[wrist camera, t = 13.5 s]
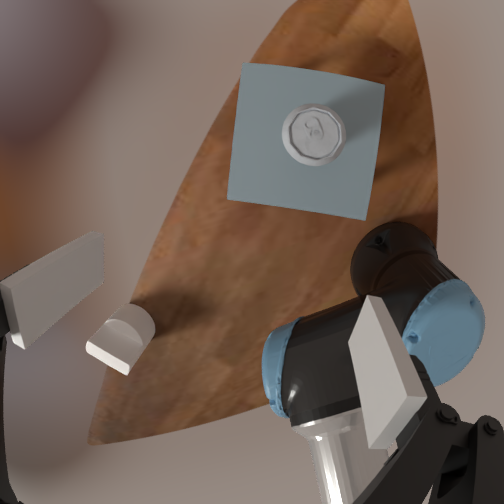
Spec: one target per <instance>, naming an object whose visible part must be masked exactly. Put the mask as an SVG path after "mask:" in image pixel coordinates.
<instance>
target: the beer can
mask: <svg viewBox="0 0 504 504" xmlns="http://www.w3.org/2000/svg"><path fill="white" fill-rule="evenodd" d="M282 140H283V143H284V146H285V148H286V150H287V152H288V153H289V154H290V155H291V156H292V157H293V158H294V159H295V160H297V161H298V162H300V163H302V164H305V165H308V166H321V165H325V164H328V163H330V162H332V161H334V160H335V159H336V158H337V157H338V156H339V155H340V154H341V152H342V150H343V148H344V146H345V142H346V130H345V126H344V124H343V122H342V120H341V118H340V117H339V116H338V114H337V113H336V112H335V111H333V110H332V109H330V108H329V107H327V106H324V105H321V104H313V103H310V104H305V105H301V106H299V107H297V108H295V109H294V110H293V111H292V112H291V113H289V115H288V116H287V118H286V119H285V121H284V124H283V127H282Z"/></svg>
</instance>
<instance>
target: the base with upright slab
mask: <svg viewBox="0 0 504 504" xmlns="http://www.w3.org/2000/svg"><path fill="white" fill-rule="evenodd" d="M154 334H155V324H154V321H153V319H152V318H151V316H150V315H149V314H148V313H147V312H146V311H145V310H144V309H143V308H141V307H140V306H137V305H135V304H125V305H122V306H121V307H120V308H119V309H118V310H117V311H116V312H115V313H114V314H113V315H112V316H111V317H110V318H109V319H108V320H107V321H106V322H105V323H104V324H103V325H102V326H101V327H100V329H98V331H97V332H96V333H95V334H94V335H93V336H92V337H91V338H90V339H89V340H88V341H87V344H86V351H87V352H88V353H89V354H91V355H92V356H94V357H96V358H97V359H99V360H101V361H102V362H104V363H106V364H107V365H109V366H111V367H112V368H114V369H116V370H118V371H119V372H121V373H123V374H125V375H127V374H128V373H129V371H130V370H131V369H132V367H133V366H134V364H135V363H136V361H137V360H138V358H139V357H140V355H141V354H142V352H143V351H144V349H145V348H146V347H147V345H148V344H149V342H150V341H151V339H152V338H153V336H154Z"/></svg>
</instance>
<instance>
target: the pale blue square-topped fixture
mask: <svg viewBox="0 0 504 504" xmlns="http://www.w3.org/2000/svg"><path fill="white" fill-rule="evenodd" d="M384 92H385V85H383V84H379V83H375V82H371V81H367V80H363V79H358V78H354V77H349V76H344V75H339V74H334V73H328V72H322V71H316V70H310V69H303V68H295V67H287V66H278V65H268V64H256V63H243V64H242V72H241V79H240V87H239V95H238V103H237V111H236V119H235V128H234V137H233V146H232V155H231V164H230V174H229V183H228V193H227V199H228V200H235V201H243V202H251V203H258V204H265V205H272V206H279V207H286V208H292V209H299V210H305V211H312V212H318V213H324V214H330V215H336V216H342V217H348V218H353V219H359V220H364V221H365V220H366V215H367V210H368V205H369V200H370V194H371V189H372V183H373V177H374V171H375V165H376V158H377V151H378V144H379V137H380V129H381V121H382V112H383V102H384ZM310 103H313V104H321V105H324V106H327V107H329V108H330V109H332V110H333V111H335V112H336V113H337V114H338V116H339V117H340V118H341V120H342V122H343V124H344V126H345V130H346V142H345V146H344V148H343V150H342V152H341V154H340V155H339V156H338V157H337V158H336V159H335V160H334V161H332V162H330V163H328V164H325V165H321V166H308V165H305V164H302V163H300V162H298V161H297V160H295V159H294V158H293V157H292V156H291V155H290V154H289V153H288V152H287V150H286V148H285V146H284V143H283V140H282V127H283V124H284V121H285V119H286V118H287V116H288V115H289V113H291V112H292V111H293V110H294V109H295V108H297V107H299V106H301V105H305V104H310Z"/></svg>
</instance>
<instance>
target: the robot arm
mask: <svg viewBox="0 0 504 504" xmlns="http://www.w3.org/2000/svg"><path fill="white" fill-rule="evenodd" d="M350 273H351V280H352V283H353V286H354V289H355V291H356V293H357V295H358V297H356V298H353V299H351V300H348V301H346V302H343V303H341V304H338V305H335V306H333V307H330V308H328V309H325V310H322V311H319V312H316V313H314V314H311V315H308V316H305V317H304V316H303V317H299V318H297V319H296V320H294V321H293V322H290V323H288V324H286V325H283V326H280V327H278V328H276V329H275V330H273V331H272V332H271V333H270V335H269V336H268V338H267V341H266V342H265V345H264V349H263V355H262V377H263V384H264V389H265V393H266V396H267V398H268V399H270V406H271V408H272V410H273V411H274V412H275V413H276V414H277V415H278V416H280V417H284V418H290V422H291V427H292V430H293V431H295V432H297V433H299V434H300V435H302V436H304V437H305V438H306V439H307V440H308V442H309V446H310V451H311V455H312V460H313V464H314V468H315V473H316V478H317V482H318V487H319V491H320V496H321V500H322V504H422V502H423V501H424V499H425V497H426V496H427V494H428V492H429V490H430V489H431V487H432V485H433V487H432V491H431V495H430V499H429V503H428V504H504V431H503V427H502V426H501V424H500V422H499V421H497V419H495V418H493V417H491V416H487V415H484V416H481V417H480V418H479V419H478V420H477V422H476V423H475V424H471V423H467V422H463V421H461V420H460V417H459V414H458V413H457V412H456V410H455V409H454V408H452V407H451V406H449V405H447V404H445V403H441V401H440V399H439V397H438V394H437V392H436V390H435V388H434V387H436V386H438V385H441V384H443V383H445V382H447V381H449V380H450V379H452V378H453V377H455V376H456V375H457V374H458V373H460V372H461V371H462V370H463V369H464V368H465V367H466V365H467V364H468V363H469V362H470V361H471V359H472V358H473V355H474V353H475V352H476V350H477V349H478V348H479V345H480V343H481V340H482V337H483V333H484V328H485V315H484V310H483V307H482V305H481V303H480V301H479V300H478V298H477V297H476V296H475V295H474V293H473V292H472V290H471V289H470V287H469V286H468V285H467V284H466V283H465V282H463V281H462V280H460V279H459V278H458V277H457V276H456V275H455V274H454V273H453V272H452V271H450V270H449V269H448V268H447V267H446V266H445V265H444V264H443V263H441V262H440V261H439V260H438V255H437V251H436V249H435V246H434V244H433V243H432V241H431V240H430V238H429V237H428V236H427V235H426V234H425V233H424V232H422V231H421V230H420V229H418V228H417V227H415V226H413V225H411V224H408V223H403V222H391V223H387V224H383V225H381V226H379V227H377V228H375V229H373V230H372V231H370V232H369V233H368V234H367V235H366V236H365V237H364V238H363V239H362V240H361V241H360V243H359V244H358V246H357V248H356V250H355V252H354V254H353V257H352V261H351V268H350ZM102 283H104V234H102V233H98V232H94V231H91V232H89V233H87V234H85V235H83V236H82V237H80V238H78V239H76V240H74V241H72V242H70V243H68V244H66V245H64V246H63V247H60V248H59V249H57V250H55V251H53V252H51V253H49V254H48V255H46V256H44V257H42V258H40V259H39V260H37V261H35V262H33V263H31V264H29V265H26V266H25V267H23V268H21V269H20V270H19V271H16V272H14V273H13V275H12V274H11V275H9V276H8V277H6V278H4V279H3V280H1V281H0V504H23V503H22V502H21V501H19V502H18V501H17V498H16V496H15V494H14V492H13V490H12V488H11V486H10V483H9V479H8V471H7V463H6V454H5V442H4V426H3V425H4V424H3V387H4V365H5V354H6V344H7V341H6V337H5V334H6V333H8V332H9V331H10V333H11V336H12V340H13V343H15V344H16V345H18V346H20V347H22V348H23V349H26V348H28V347H29V346H30V345H31V344H32V343H33V342H34V341H35V340H36V339H37V338H39V337H40V336H41V335H42V334H43V333H44V332H45V331H46V330H47V329H48V328H50V327H51V326H52V325H53V324H55V323H56V322H57V321H58V320H59V319H60V318H61V317H63V316H64V315H65V314H66V313H67V312H68V311H70V310H71V309H72V308H73V307H74V306H76V305H77V304H78V303H79V302H80V301H81V300H83V299H84V298H85V297H86V296H88V295H89V294H90V293H91V292H92V291H93V290H95V289H96V288H97V287H99V286H100V285H101V284H102ZM395 440H396V442H397V446H398V449H396V451H395V452H394V453H393V454H392V455H391V456H390V457H389V456H388V452H387V449H388V448H389V447H390V446H391V445H392V443H393V442H394V441H395Z"/></svg>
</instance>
